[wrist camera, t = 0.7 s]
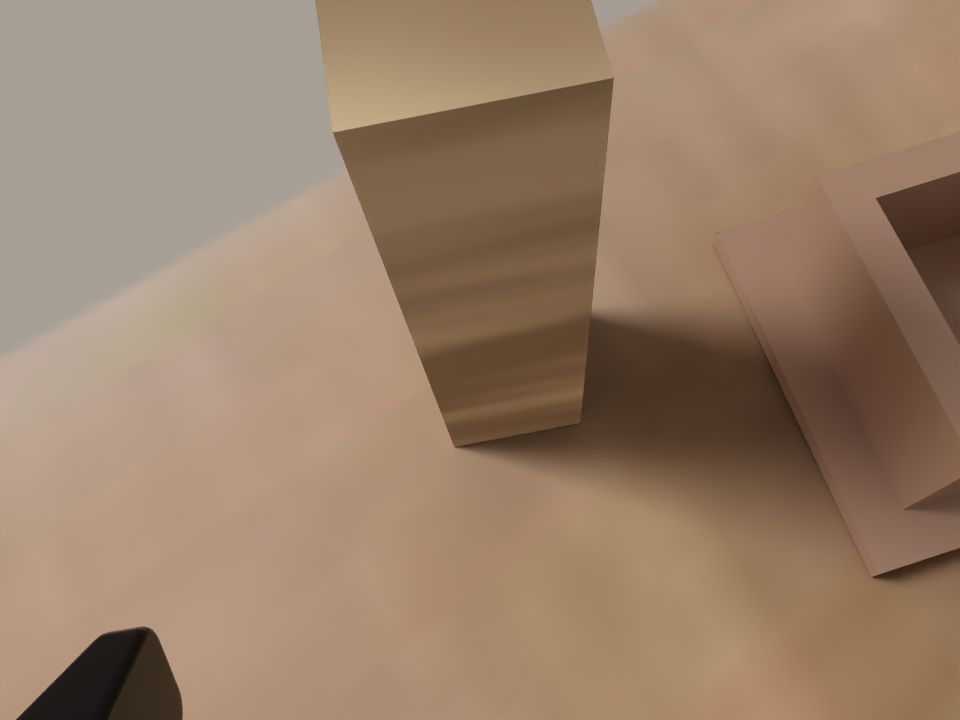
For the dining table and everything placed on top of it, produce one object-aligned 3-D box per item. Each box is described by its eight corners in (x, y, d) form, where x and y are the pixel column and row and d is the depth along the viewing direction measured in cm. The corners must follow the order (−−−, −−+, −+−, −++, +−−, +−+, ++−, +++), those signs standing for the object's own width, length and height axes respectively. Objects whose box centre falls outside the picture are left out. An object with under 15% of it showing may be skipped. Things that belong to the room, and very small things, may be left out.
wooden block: (580, 423, 23) (614, 77, 11) (454, 447, 24) (333, 132, 11) (553, 308, 25) (555, -123, 12) (434, 331, 25) (305, -73, 12)
